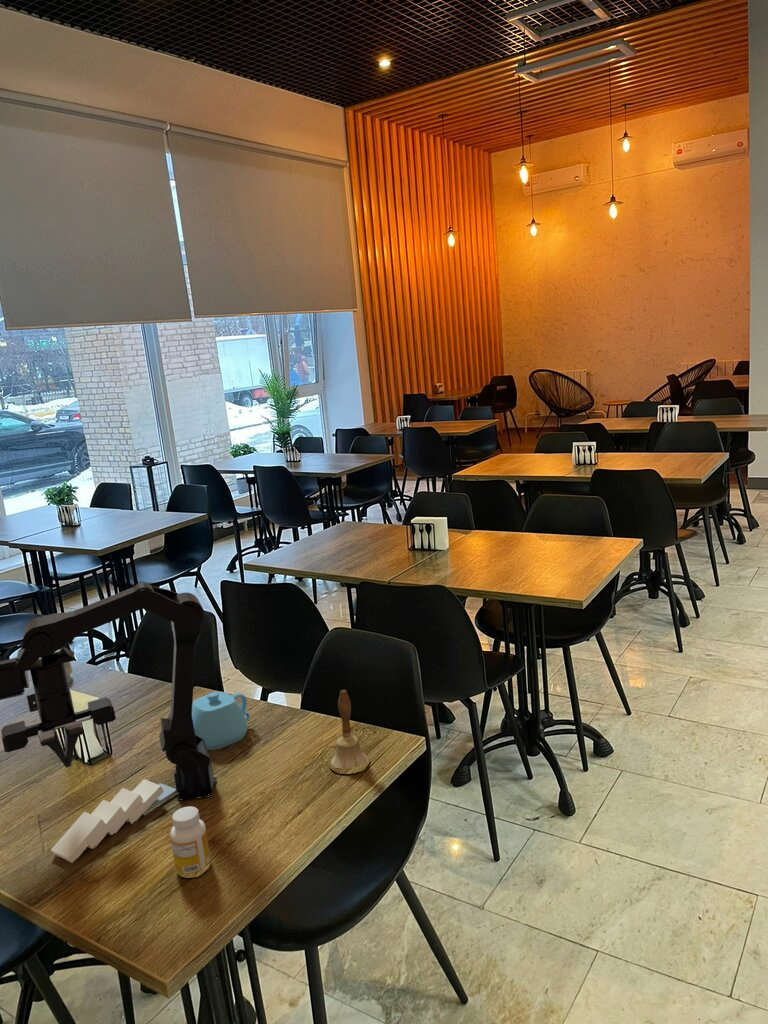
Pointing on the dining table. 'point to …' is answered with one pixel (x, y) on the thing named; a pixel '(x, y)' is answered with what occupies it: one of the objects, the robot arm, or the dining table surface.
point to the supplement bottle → (189, 841)
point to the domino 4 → (145, 798)
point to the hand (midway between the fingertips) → (68, 766)
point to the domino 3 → (125, 806)
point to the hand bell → (347, 739)
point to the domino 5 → (162, 796)
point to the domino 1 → (78, 837)
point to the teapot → (219, 719)
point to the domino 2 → (106, 819)
